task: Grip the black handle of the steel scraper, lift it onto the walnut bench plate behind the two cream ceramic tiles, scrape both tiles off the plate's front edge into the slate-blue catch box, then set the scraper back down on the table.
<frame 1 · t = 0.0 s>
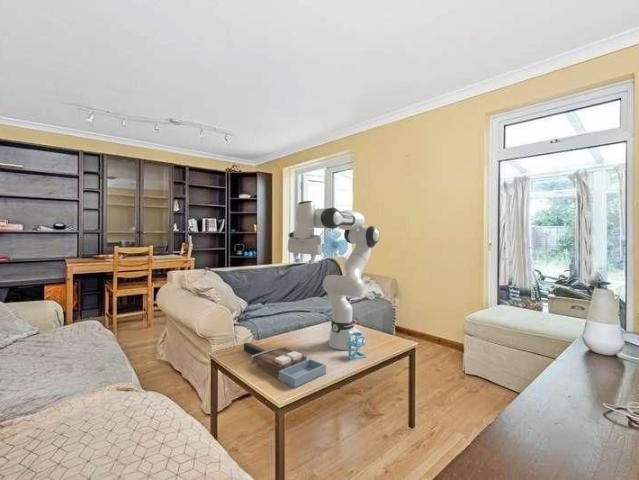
hand: (304, 263, 154), 48 cm above the table, fingers open, 8 cm apart
light blue open frame: (355, 357, 163), on the table
scraper: (254, 354, 163), on the table
tile a: (294, 357, 148), point 5 cm above the table, touching bench plate
catch box: (302, 376, 139), on the table
tile b: (282, 361, 143), point 5 cm above the table, touching bench plate
bench plate: (281, 367, 148), on the table
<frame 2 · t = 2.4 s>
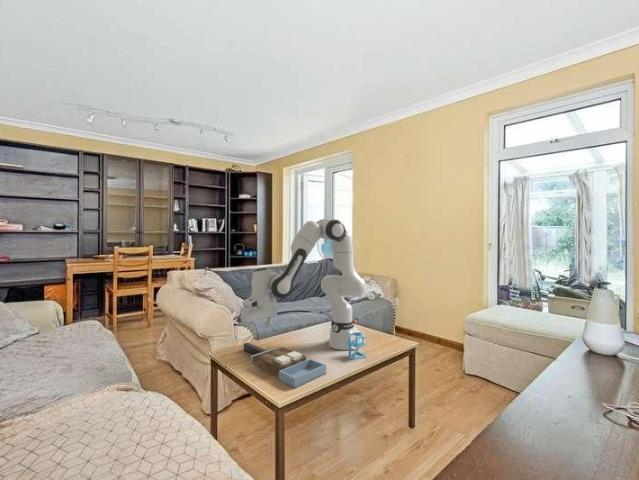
hand: (259, 328, 159), 15 cm above the table, fingers open, 8 cm apart
nothing on the table moved.
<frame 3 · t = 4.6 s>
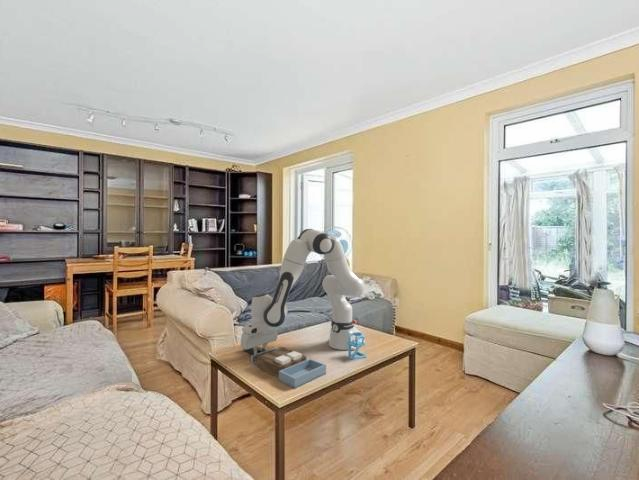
hand: (259, 353, 160), 2 cm above the table, fingers closed on scraper, 2 cm apart
scraper: (254, 354, 163), on the table, touching gripper
everything else where it was.
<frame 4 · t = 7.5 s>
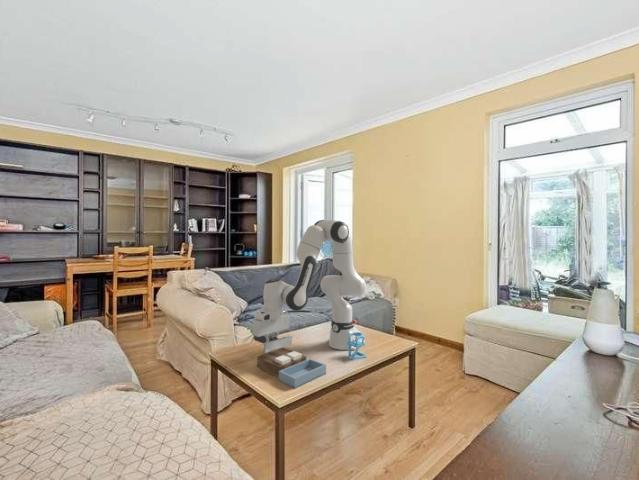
hand: (271, 341, 153), 10 cm above the table, fingers closed on scraper, 2 cm apart
scraper: (266, 343, 155), point 8 cm above the table, touching gripper
everything else where it was.
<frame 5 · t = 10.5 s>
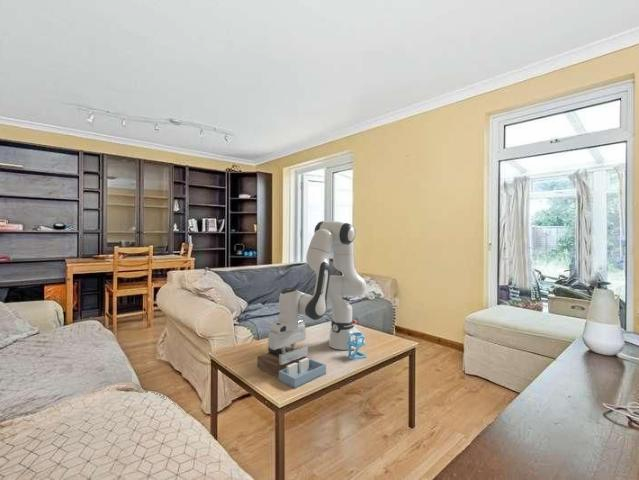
hand: (287, 353, 146), 7 cm above the table, fingers closed on scraper, 2 cm apart
scraper: (281, 355, 149), point 5 cm above the table, touching gripper
tile a: (302, 364, 144), point 3 cm above the table, tilted 90°, touching catch box
tile b: (290, 369, 139), point 3 cm above the table, tilted 90°, touching catch box
everything else where it was.
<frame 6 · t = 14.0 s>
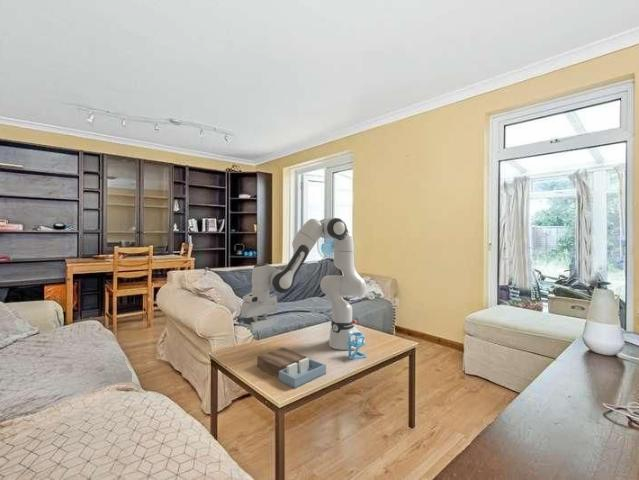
hand: (260, 323, 159), 17 cm above the table, fingers closed on scraper, 2 cm apart
scraper: (254, 325, 162), point 15 cm above the table, touching gripper
everything else where it was.
when the fingers open (2 cm above the table, at t = 17.2 s): scraper stays where it is, on the table.
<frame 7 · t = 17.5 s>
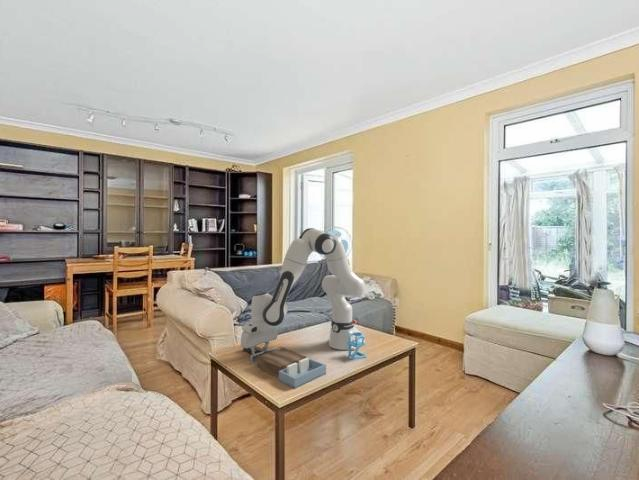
hand: (259, 352, 160), 2 cm above the table, fingers open, 5 cm apart
scraper: (254, 354, 163), on the table
everything else where it was.
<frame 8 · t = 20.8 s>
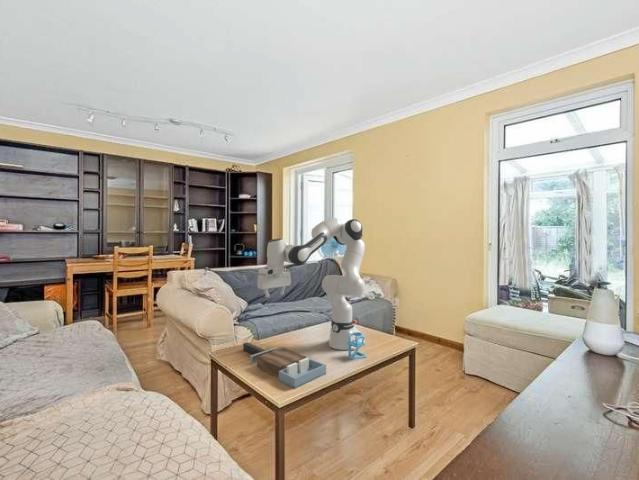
hand: (274, 295, 167), 29 cm above the table, fingers open, 8 cm apart
nothing on the table moved.
at the end: tile a inside the target area (5.6 cm from its centre), point 3.1 cm above the table; tile b inside the target area (5.7 cm from its centre), point 3.1 cm above the table; scraper on the table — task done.
